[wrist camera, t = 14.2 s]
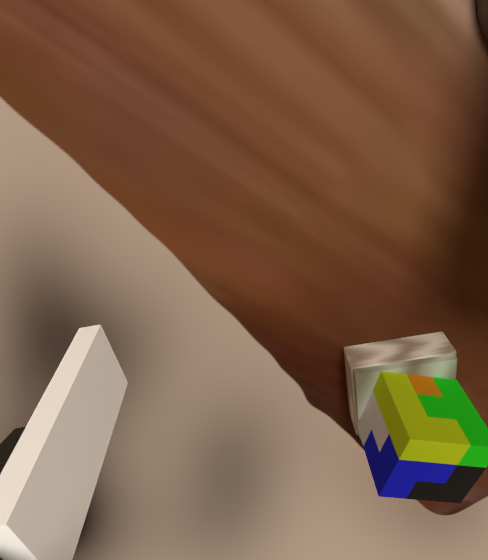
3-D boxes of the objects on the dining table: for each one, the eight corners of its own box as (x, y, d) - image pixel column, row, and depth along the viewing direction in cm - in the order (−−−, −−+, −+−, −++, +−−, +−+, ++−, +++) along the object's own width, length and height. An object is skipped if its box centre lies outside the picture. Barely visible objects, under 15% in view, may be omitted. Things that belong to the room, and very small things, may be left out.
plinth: (442, 331, 54) (460, 356, 50) (438, 400, 61) (453, 427, 56) (343, 347, 55) (352, 373, 51) (349, 412, 62) (358, 441, 58)
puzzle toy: (356, 425, 56) (378, 496, 47) (381, 371, 51) (410, 439, 42) (426, 432, 57) (460, 503, 48) (456, 379, 52) (500, 448, 43)
